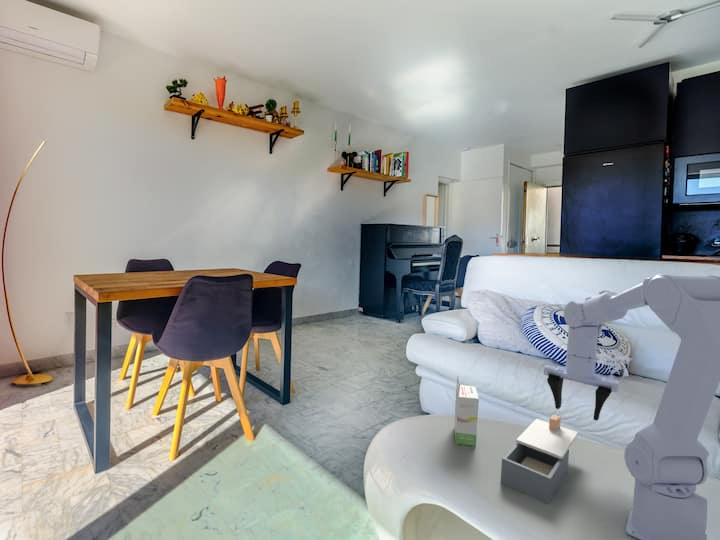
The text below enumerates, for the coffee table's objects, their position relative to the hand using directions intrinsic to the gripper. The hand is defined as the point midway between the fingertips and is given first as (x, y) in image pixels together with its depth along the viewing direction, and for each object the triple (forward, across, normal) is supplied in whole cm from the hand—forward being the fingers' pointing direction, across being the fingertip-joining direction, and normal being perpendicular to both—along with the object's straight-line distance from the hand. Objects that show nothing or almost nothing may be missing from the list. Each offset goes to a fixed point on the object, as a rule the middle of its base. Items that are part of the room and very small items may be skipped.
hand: (576, 413), depth 84 cm
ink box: (+11, +22, +10) cm, 26 cm away
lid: (+5, +4, +7) cm, 9 cm away
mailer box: (+10, +4, +14) cm, 18 cm away
